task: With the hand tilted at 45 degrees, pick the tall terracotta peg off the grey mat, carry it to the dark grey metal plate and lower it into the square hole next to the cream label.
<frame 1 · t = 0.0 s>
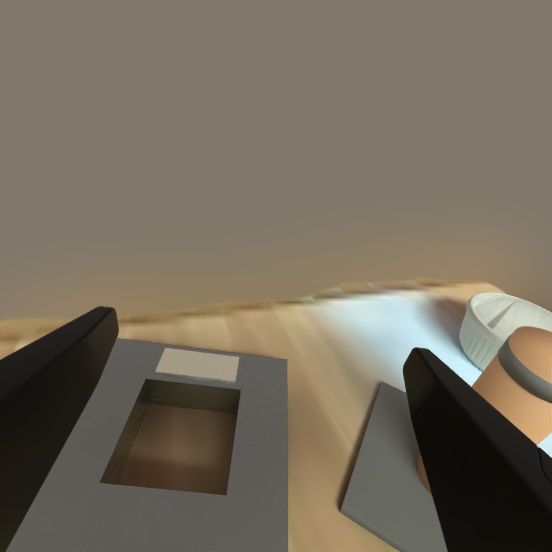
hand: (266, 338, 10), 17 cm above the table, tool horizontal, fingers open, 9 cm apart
flange plate: (181, 453, 22), on the table
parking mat: (441, 480, 23), on the table
peg: (444, 477, 23), resting on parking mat
ramekin: (499, 359, 36), on the table
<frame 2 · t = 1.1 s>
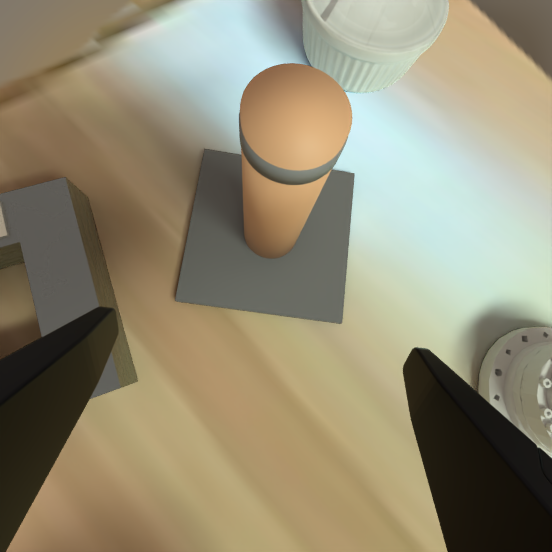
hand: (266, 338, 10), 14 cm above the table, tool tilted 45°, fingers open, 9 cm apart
mechanical component: (535, 393, 24), on the table
flange plate: (6, 317, 22), on the table
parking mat: (270, 234, 24), on the table
peg: (270, 232, 24), point 1 cm above the table, touching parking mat
ramekin: (353, 53, 29), on the table
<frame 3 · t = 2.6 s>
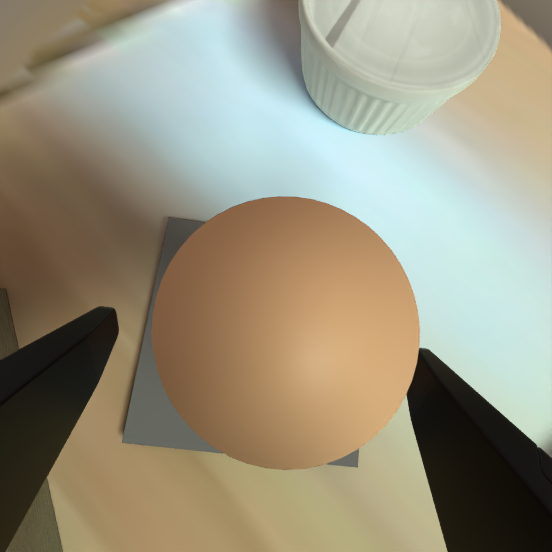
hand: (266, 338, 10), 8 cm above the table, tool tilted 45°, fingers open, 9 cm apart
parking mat: (258, 335, 18), on the table
peg: (258, 335, 17), point 1 cm above the table, touching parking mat
ramekin: (366, 81, 22), on the table
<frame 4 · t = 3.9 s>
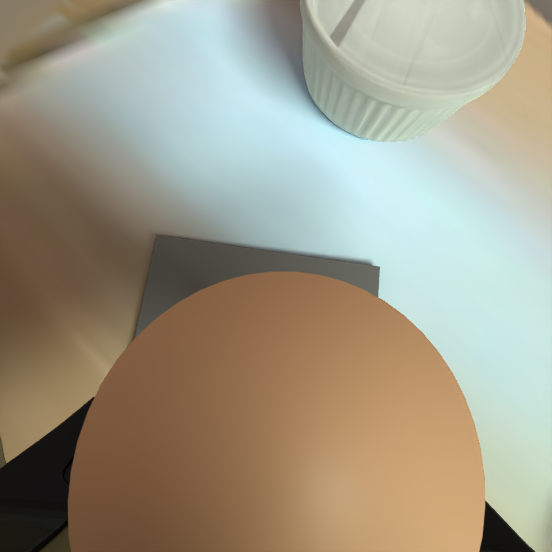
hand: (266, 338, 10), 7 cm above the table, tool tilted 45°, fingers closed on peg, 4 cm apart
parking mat: (254, 366, 16), on the table
peg: (255, 367, 16), point 1 cm above the table, touching gripper, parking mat
ramekin: (373, 83, 21), on the table
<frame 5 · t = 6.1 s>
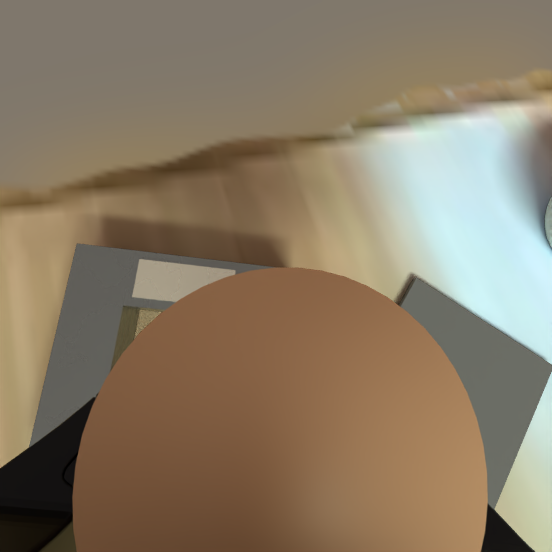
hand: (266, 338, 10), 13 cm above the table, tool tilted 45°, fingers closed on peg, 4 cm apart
flange plate: (181, 365, 22), on the table
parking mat: (446, 391, 23), on the table
peg: (255, 366, 16), point 7 cm above the table, touching gripper
when the fingers open (8 cm above the table, at t = 8.2 s): peg drops 1 cm, resting in flange plate.
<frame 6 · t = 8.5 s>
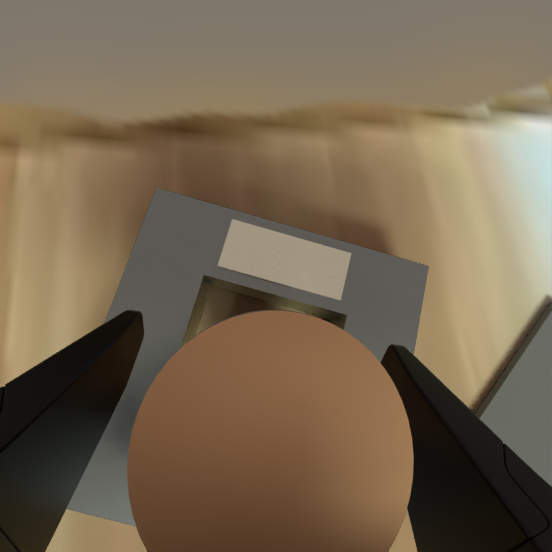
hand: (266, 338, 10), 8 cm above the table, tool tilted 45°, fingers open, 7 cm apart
flange plate: (254, 364, 17), on the table
peg: (254, 364, 17), resting in flange plate
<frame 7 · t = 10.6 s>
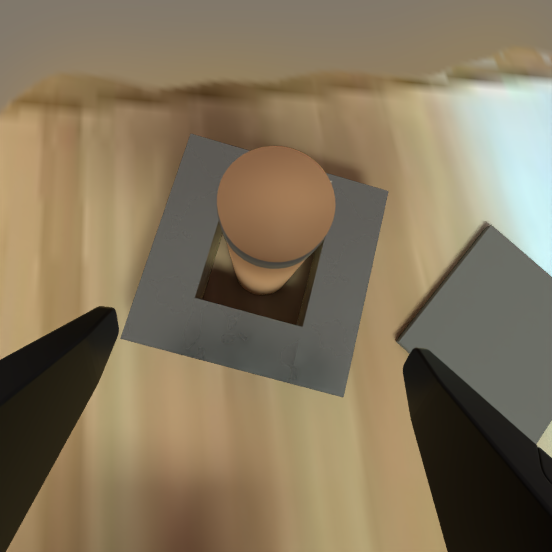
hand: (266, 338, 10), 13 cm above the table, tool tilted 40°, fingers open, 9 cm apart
flange plate: (261, 267, 24), on the table
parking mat: (503, 334, 24), on the table
peg: (262, 268, 24), resting in flange plate
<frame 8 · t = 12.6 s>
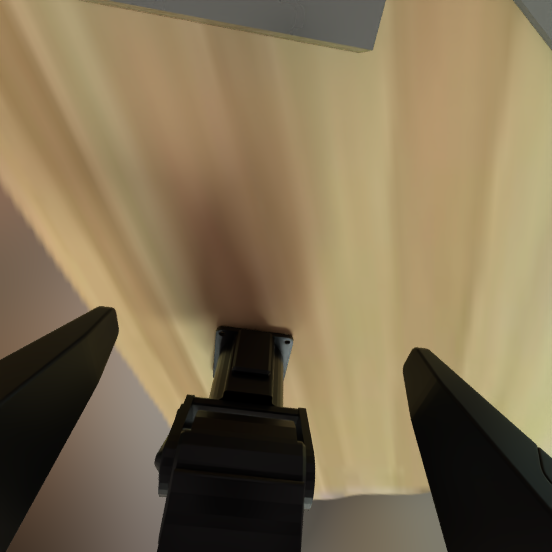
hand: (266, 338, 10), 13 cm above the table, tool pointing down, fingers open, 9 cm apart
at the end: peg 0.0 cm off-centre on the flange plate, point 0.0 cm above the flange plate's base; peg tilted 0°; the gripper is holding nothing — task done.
